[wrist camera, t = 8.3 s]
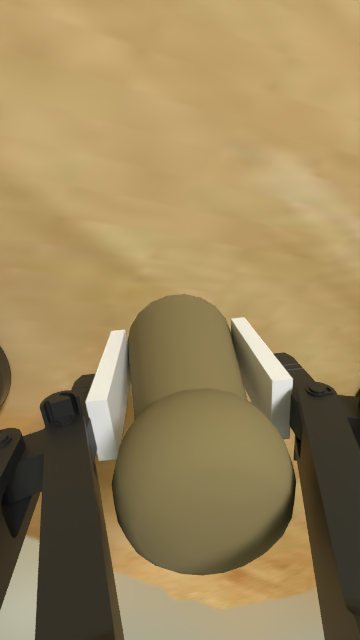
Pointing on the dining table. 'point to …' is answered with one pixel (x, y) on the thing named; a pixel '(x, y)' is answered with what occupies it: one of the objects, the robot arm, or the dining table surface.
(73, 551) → the robot arm
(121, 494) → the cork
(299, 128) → the dining table surface
